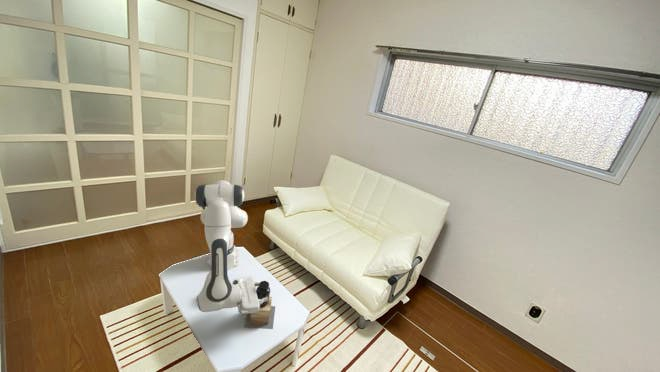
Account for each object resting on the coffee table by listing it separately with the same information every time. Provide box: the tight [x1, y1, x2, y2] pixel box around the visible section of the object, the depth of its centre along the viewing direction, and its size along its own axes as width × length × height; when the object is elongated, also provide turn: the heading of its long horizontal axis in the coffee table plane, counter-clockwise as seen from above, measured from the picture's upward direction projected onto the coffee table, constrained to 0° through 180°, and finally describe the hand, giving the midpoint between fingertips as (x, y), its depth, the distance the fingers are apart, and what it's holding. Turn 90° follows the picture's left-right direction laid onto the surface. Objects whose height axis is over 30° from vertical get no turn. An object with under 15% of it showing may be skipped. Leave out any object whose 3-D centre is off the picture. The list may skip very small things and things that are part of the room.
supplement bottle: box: [255, 280, 271, 307], centre depth 131 cm, size 7×7×12 cm
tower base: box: [250, 317, 269, 324], centre depth 136 cm, size 9×9×4 cm
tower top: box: [251, 296, 273, 318], centre depth 134 cm, size 9×9×4 cm
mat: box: [243, 305, 276, 330], centre depth 137 cm, size 14×14×1 cm
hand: (265, 291), depth 131 cm, fingers open, 8 cm apart
